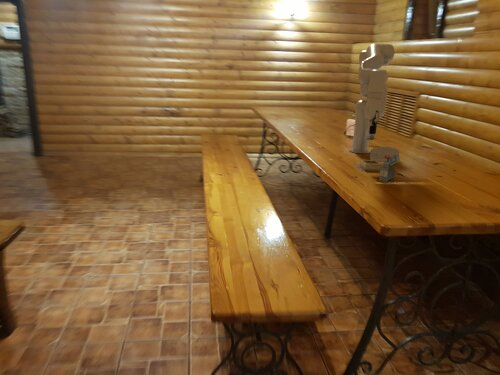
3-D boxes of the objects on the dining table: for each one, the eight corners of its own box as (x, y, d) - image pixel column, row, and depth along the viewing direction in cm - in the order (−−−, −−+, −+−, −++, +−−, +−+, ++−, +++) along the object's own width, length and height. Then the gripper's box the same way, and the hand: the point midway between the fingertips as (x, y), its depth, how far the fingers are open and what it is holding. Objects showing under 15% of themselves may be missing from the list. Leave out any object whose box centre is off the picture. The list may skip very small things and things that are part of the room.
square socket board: (359, 166, 201) (361, 154, 199) (389, 166, 202) (391, 154, 199) (364, 170, 193) (366, 157, 191) (395, 171, 194) (397, 158, 192)
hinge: (370, 163, 212) (371, 145, 212) (368, 164, 217) (368, 146, 217) (401, 164, 212) (401, 146, 212) (397, 165, 216) (398, 147, 217)
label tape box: (385, 178, 186) (388, 153, 182) (393, 180, 184) (397, 155, 180) (378, 182, 180) (381, 156, 176) (386, 184, 177) (390, 158, 173)
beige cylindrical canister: (363, 138, 196) (366, 116, 192) (372, 138, 196) (375, 116, 192) (366, 139, 192) (369, 117, 188) (375, 140, 192) (378, 118, 188)
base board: (353, 166, 205) (353, 164, 204) (386, 167, 206) (386, 164, 205) (361, 174, 192) (362, 171, 191) (396, 174, 193) (397, 172, 192)
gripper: (362, 94, 195) (358, 129, 201) (373, 97, 179) (368, 135, 185) (377, 94, 195) (372, 130, 201) (389, 97, 179) (383, 136, 185)
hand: (370, 132), depth 193 cm, fingers closed on beige cylindrical canister, 4 cm apart
